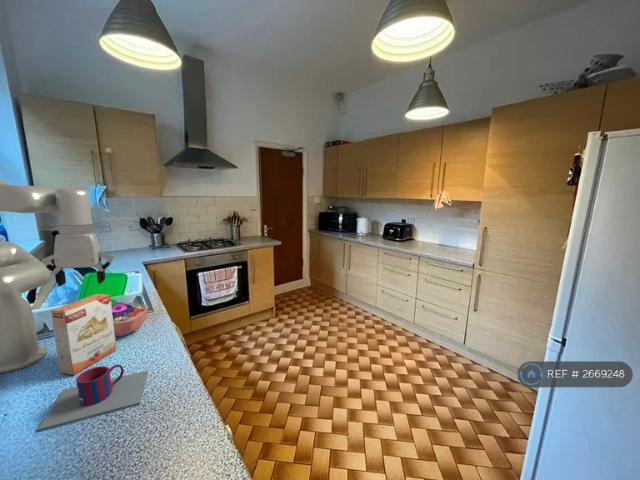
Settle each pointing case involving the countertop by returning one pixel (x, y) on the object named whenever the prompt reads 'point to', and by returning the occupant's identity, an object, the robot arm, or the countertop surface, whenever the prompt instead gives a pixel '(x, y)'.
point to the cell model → (128, 317)
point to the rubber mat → (121, 397)
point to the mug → (95, 384)
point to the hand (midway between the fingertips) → (82, 283)
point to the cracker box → (83, 332)
